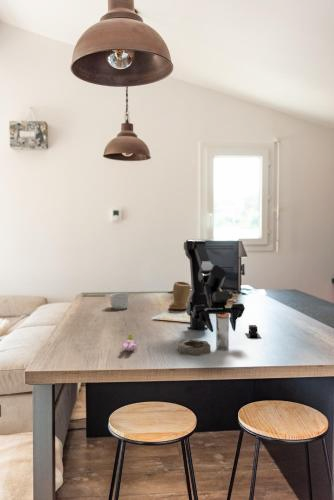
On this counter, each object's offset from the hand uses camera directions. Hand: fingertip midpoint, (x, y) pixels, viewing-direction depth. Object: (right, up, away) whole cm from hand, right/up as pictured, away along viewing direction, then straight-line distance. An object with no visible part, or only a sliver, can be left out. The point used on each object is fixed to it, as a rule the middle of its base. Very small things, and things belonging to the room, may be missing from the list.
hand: (223, 331), depth 152 cm
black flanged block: (+15, -7, +21) cm, 26 cm away
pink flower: (-33, -7, 0) cm, 34 cm away
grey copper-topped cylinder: (0, -7, +2) cm, 7 cm away
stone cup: (-13, -4, +86) cm, 87 cm away
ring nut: (-11, -7, -1) cm, 13 cm away
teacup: (-47, -4, +88) cm, 100 cm away
